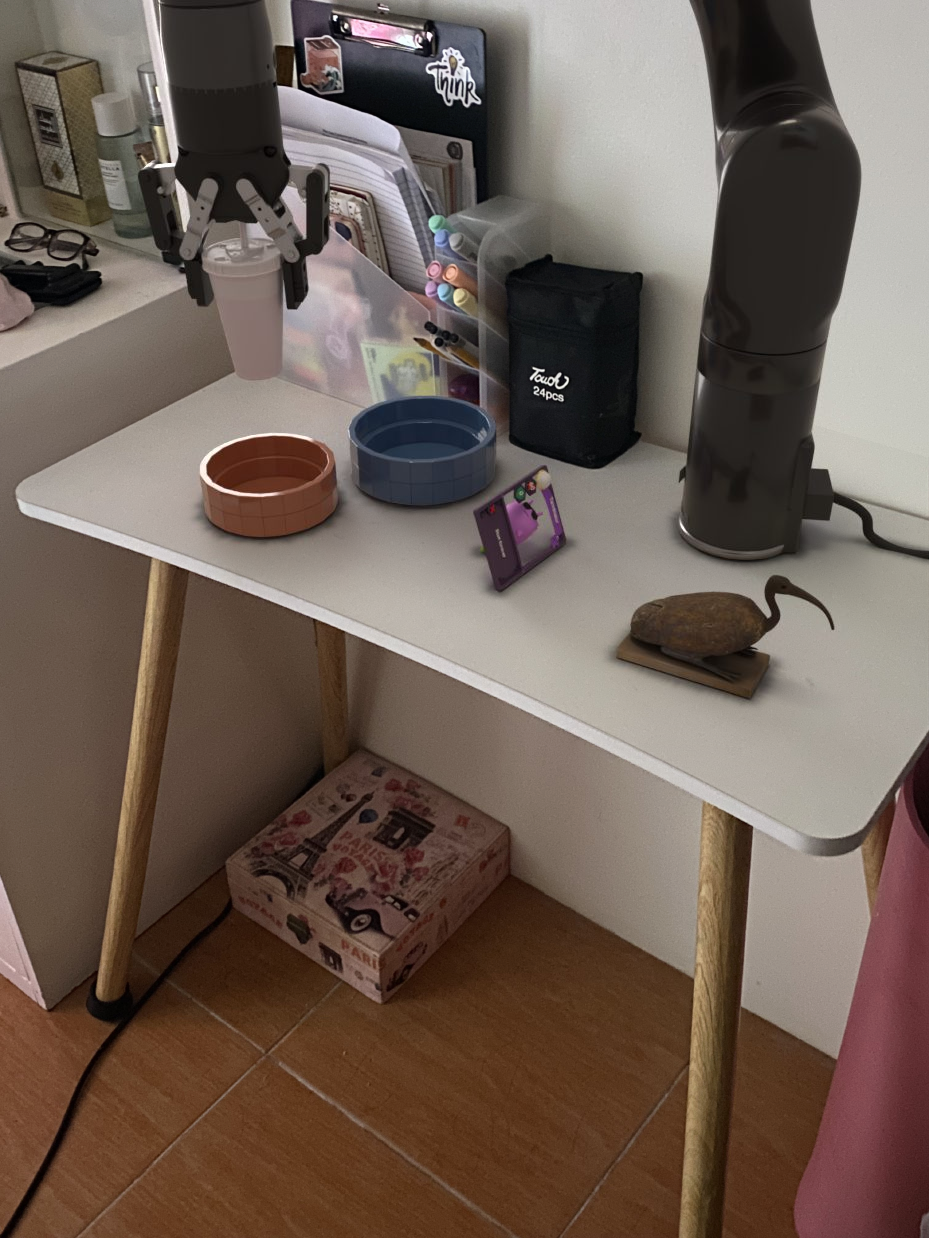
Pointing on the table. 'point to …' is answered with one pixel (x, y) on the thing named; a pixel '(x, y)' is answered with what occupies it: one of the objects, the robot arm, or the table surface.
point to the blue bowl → (422, 450)
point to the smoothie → (249, 301)
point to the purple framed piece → (516, 527)
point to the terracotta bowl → (269, 484)
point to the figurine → (709, 635)
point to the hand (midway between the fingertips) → (250, 304)
